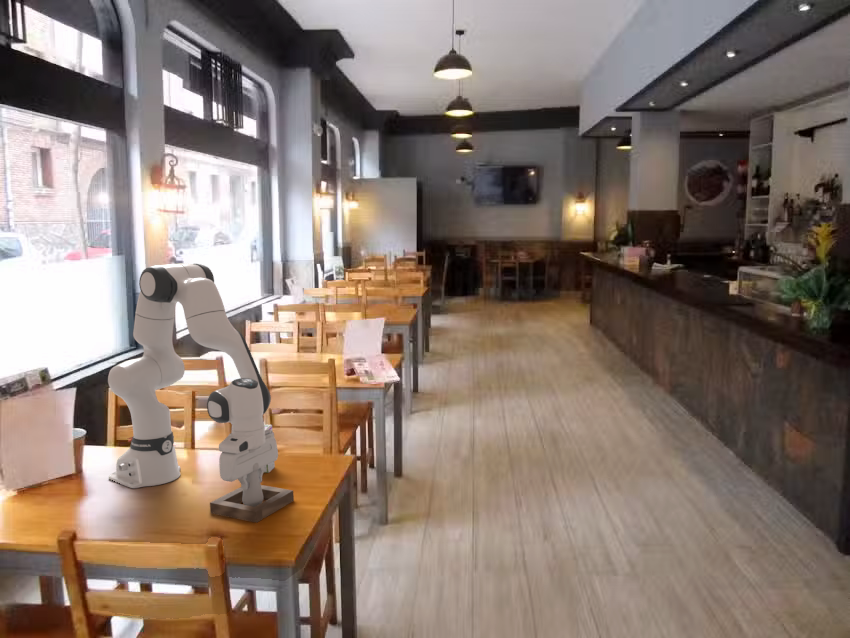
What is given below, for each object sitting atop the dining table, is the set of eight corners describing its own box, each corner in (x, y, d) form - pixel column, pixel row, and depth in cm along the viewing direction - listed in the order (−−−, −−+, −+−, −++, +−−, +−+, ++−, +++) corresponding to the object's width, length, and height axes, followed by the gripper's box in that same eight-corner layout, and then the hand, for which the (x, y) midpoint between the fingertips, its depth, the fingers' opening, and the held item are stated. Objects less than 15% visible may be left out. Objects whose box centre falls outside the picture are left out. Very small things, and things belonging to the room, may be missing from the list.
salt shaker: (258, 511, 187) (255, 465, 186) (239, 510, 189) (236, 465, 187) (267, 503, 193) (264, 458, 191) (248, 502, 194) (245, 458, 193)
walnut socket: (210, 513, 187) (209, 502, 187) (249, 492, 202) (249, 482, 201) (256, 522, 180) (255, 511, 180) (293, 500, 194) (293, 490, 194)
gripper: (264, 426, 199) (267, 472, 201) (213, 447, 181) (217, 497, 183) (281, 428, 196) (284, 475, 198) (232, 449, 178) (235, 500, 180)
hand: (252, 486), depth 190 cm, fingers closed on salt shaker, 4 cm apart
